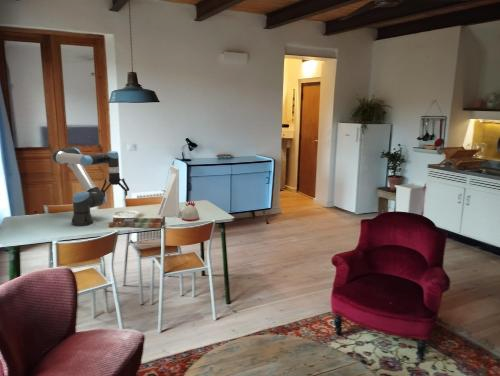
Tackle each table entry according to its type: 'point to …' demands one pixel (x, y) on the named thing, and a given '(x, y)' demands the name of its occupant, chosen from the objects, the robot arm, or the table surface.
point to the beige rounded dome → (190, 213)
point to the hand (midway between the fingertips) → (115, 200)
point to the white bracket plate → (171, 196)
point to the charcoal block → (128, 221)
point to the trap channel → (139, 222)
